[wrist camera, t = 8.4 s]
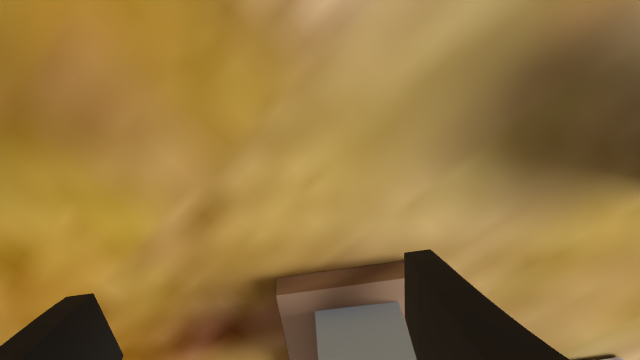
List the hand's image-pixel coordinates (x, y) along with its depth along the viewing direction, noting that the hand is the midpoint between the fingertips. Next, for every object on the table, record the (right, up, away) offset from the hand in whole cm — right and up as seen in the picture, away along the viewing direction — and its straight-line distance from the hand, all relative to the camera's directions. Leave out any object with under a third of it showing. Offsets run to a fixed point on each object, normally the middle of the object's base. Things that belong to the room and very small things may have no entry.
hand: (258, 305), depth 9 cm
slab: (+3, -5, +15) cm, 16 cm away
